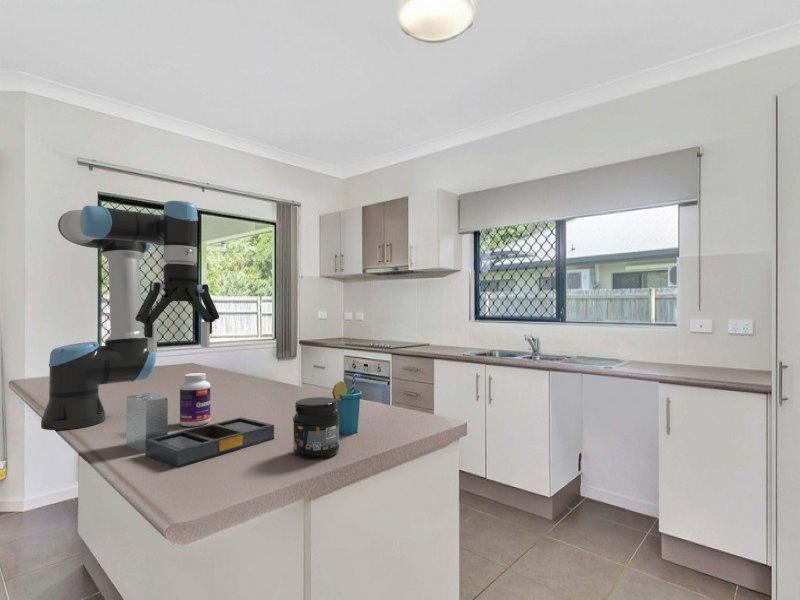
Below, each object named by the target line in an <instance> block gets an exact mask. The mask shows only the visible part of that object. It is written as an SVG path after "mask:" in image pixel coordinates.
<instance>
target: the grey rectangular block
mask: <svg viewBox="0 0 800 600" xmlns="http://www.w3.org/2000/svg"><path fill="white" fill-rule="evenodd" d="M168 401H169V400H168V397H167V396H161V395H157V394H154V393H153V394H152V393H149V392H147V393H140V394H134V395H128V396H126V433H125V435H126V436H125V437H126V439H125V440H126V443H125V444H126V446H127V447H129V448H132V449H135V450H137V451H140V452H142V453H145V440H146V439H151V438H155V437H159V436H163V435H168V434H169V433H168V428H169V427H168V426H169V425H168V422H169V421H168V419H169V418H168V414H169V413H168V412H169V411H168V409H169V408H168V407H169V406H168V404H169V402H168Z"/></svg>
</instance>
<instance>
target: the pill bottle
mask: <svg viewBox="0 0 800 600" xmlns="http://www.w3.org/2000/svg"><path fill="white" fill-rule="evenodd" d="M206 375H207V374H206V373H205V372H203V373H202V372H196V373H194V372H193V373H192V372H191V373H186V374H184V381H185V382H182V383H181V385H180V386H179V424H180V425H181V426H182V427H189V428H190V427H202V426H205V425H208V423H209V422H210V420H211V383H210V382H209V381H207V380H206V378H207V376H206Z"/></svg>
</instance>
